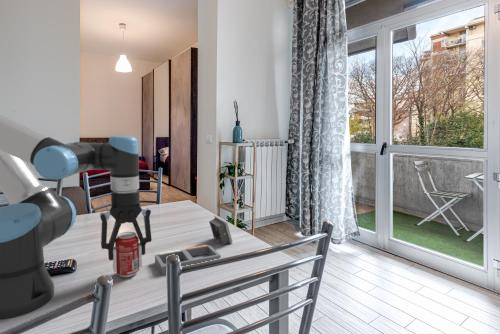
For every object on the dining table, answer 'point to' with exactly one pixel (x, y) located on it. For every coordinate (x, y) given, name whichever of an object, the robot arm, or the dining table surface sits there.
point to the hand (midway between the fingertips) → (127, 267)
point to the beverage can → (127, 254)
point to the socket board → (187, 256)
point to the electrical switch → (220, 230)
